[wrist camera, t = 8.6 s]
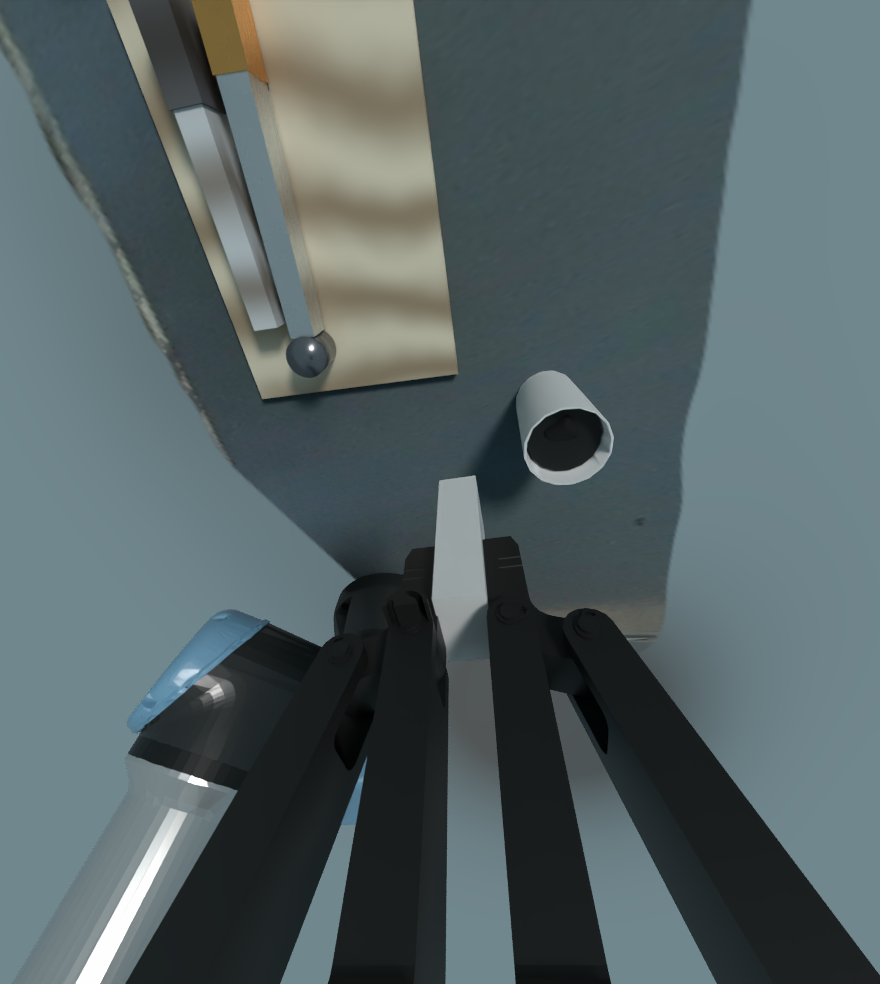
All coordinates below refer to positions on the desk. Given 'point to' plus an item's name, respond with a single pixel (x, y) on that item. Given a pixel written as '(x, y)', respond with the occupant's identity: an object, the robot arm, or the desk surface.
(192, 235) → the desk surface
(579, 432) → the white coffee cup
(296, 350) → the bar
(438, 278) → the board
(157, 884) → the robot arm
